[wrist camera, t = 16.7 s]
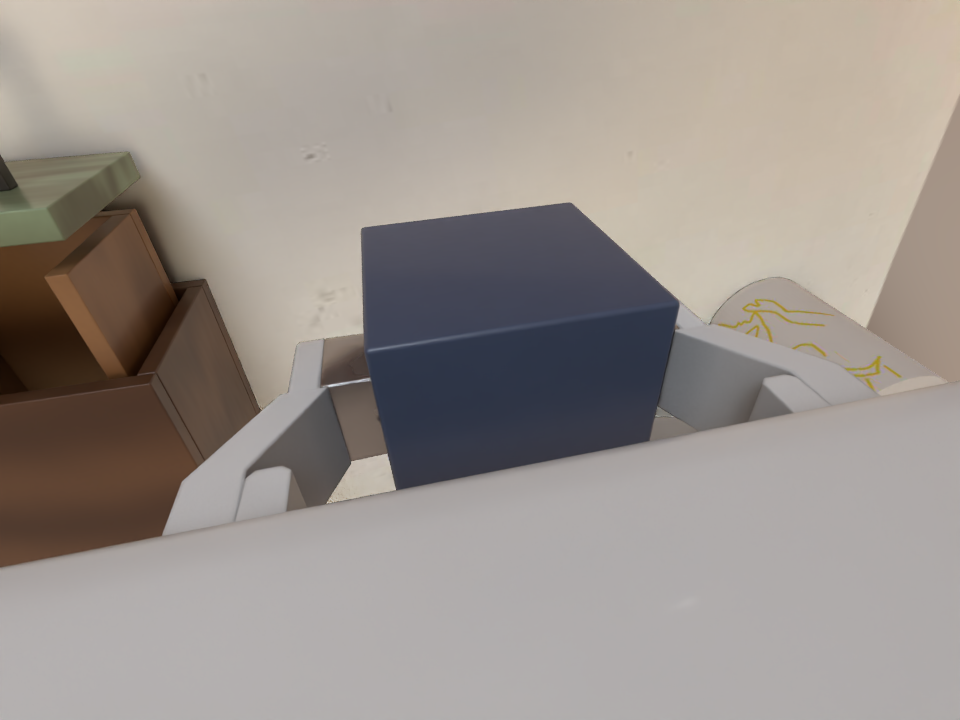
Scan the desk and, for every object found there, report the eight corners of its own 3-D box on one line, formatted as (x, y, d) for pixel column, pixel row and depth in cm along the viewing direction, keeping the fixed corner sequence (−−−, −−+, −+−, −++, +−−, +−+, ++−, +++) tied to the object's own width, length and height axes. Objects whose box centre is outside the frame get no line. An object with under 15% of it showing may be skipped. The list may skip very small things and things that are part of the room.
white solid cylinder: (759, 261, 35) (909, 358, 26) (823, 299, 39) (975, 397, 29) (685, 348, 39) (792, 462, 29) (749, 376, 42) (863, 485, 33)
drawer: (-262, 39, 18) (-577, 60, 12) (73, 23, 20) (-54, 34, 14) (29, 406, 29) (-58, 515, 23) (229, 376, 31) (198, 471, 25)
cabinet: (-45, 308, 26) (-208, 435, 18) (205, 278, 28) (149, 383, 20) (94, 485, 35) (23, 620, 27) (278, 454, 37) (258, 573, 29)
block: (360, 226, 10) (362, 350, 6) (572, 200, 11) (683, 301, 7) (394, 395, 13) (409, 549, 9) (561, 367, 13) (638, 501, 10)
